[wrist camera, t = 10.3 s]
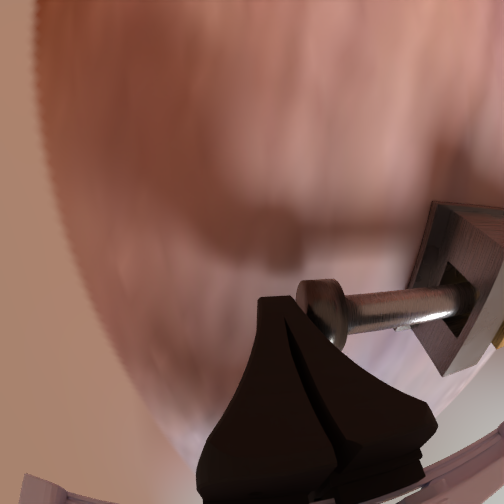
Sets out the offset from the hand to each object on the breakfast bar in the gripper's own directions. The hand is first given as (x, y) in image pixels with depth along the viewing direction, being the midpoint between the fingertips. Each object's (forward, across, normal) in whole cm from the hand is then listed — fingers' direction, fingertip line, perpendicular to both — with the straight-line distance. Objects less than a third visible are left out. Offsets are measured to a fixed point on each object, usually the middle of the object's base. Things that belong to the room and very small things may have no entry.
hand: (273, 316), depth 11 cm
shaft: (+1, -8, 0) cm, 8 cm away
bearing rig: (+2, -14, 0) cm, 14 cm away
